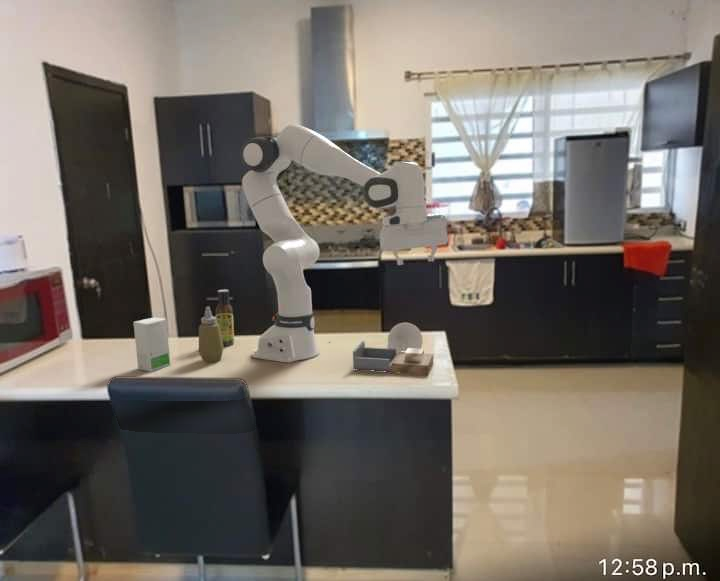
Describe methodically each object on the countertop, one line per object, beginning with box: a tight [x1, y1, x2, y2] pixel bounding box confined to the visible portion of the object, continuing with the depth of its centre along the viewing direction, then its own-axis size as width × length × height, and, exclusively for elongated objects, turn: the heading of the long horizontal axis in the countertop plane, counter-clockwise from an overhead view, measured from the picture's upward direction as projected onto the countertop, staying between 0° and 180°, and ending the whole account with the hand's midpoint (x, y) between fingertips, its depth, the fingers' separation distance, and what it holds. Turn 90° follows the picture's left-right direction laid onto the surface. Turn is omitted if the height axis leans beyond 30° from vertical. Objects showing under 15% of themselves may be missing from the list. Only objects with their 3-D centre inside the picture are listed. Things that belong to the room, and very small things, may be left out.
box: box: [352, 340, 397, 373], centre depth 176 cm, size 12×11×6 cm
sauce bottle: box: [214, 288, 235, 347], centre depth 202 cm, size 6×6×20 cm
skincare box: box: [133, 316, 172, 373], centre depth 180 cm, size 8×7×16 cm
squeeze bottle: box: [198, 306, 225, 363], centre depth 185 cm, size 8×8×18 cm
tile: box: [405, 348, 425, 362], centre depth 173 cm, size 5×5×2 cm
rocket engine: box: [387, 322, 424, 354], centre depth 192 cm, size 12×12×18 cm
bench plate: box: [392, 352, 434, 376], centre depth 173 cm, size 11×11×3 cm
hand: (415, 263), depth 169 cm, fingers open, 8 cm apart
